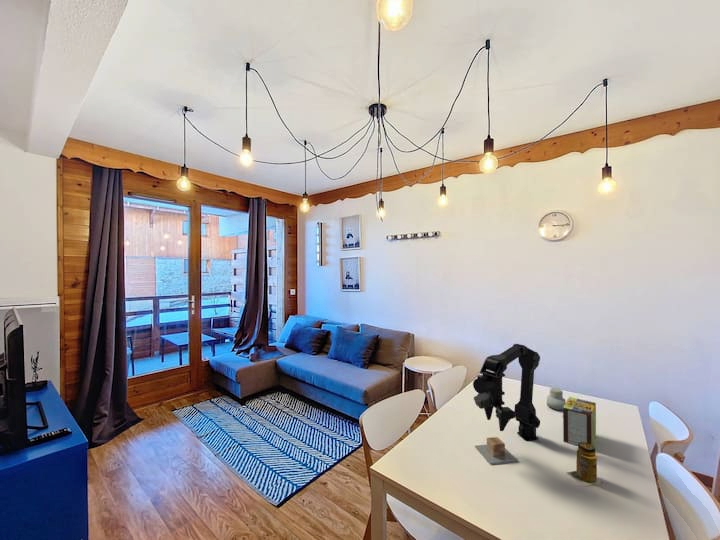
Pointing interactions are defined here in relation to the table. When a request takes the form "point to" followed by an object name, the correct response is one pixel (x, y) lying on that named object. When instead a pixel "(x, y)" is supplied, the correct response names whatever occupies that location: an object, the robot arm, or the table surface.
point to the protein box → (579, 421)
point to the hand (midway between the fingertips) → (494, 425)
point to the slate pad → (495, 460)
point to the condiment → (586, 465)
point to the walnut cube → (495, 446)
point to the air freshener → (556, 399)
